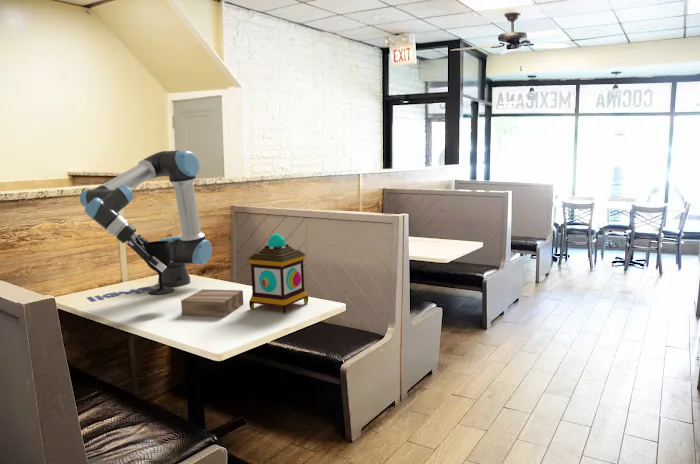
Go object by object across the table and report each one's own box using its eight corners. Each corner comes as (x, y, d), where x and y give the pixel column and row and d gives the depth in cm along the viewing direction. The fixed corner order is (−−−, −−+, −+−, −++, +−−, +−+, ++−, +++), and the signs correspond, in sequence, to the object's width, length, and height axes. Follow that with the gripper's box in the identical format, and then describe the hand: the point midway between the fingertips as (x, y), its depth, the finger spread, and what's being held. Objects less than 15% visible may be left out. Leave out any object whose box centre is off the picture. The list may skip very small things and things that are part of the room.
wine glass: (164, 296, 213) (159, 245, 210) (142, 294, 216) (137, 244, 213) (180, 289, 223) (176, 240, 220) (159, 287, 226) (154, 240, 223)
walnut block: (203, 303, 231) (202, 289, 230) (243, 304, 228) (242, 290, 227) (182, 315, 214) (181, 300, 213) (225, 317, 210) (224, 301, 209)
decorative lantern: (244, 310, 219) (240, 235, 215) (273, 298, 237) (270, 229, 232) (286, 315, 210) (282, 238, 206) (313, 302, 227) (310, 231, 223)
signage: (148, 286, 264) (156, 289, 257) (148, 287, 264) (156, 290, 257) (85, 296, 246) (92, 300, 238) (86, 298, 246) (92, 302, 239)
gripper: (123, 232, 225) (166, 267, 230) (107, 241, 203) (154, 280, 207) (135, 219, 225) (178, 254, 230) (120, 226, 203) (168, 265, 207)
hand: (167, 266), depth 219 cm, fingers closed on wine glass, 10 cm apart
